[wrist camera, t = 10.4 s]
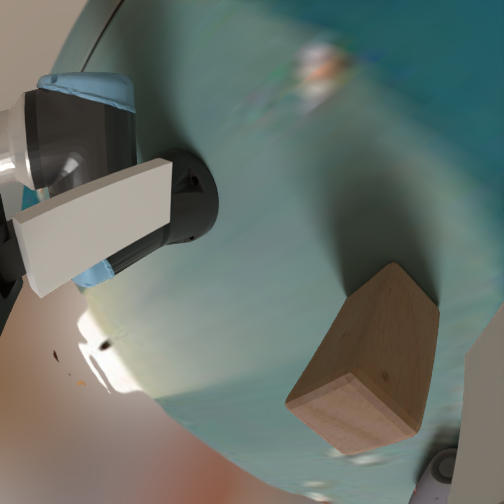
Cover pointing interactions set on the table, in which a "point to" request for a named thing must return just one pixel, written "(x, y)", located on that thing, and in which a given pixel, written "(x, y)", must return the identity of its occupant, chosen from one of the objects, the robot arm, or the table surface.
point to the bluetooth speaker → (436, 479)
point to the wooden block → (371, 366)
